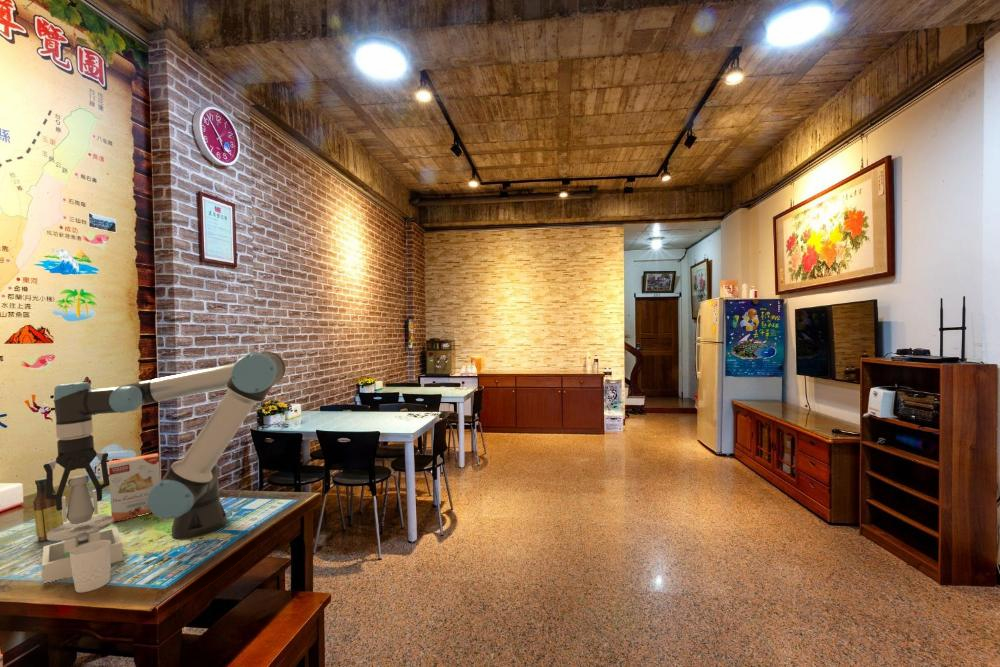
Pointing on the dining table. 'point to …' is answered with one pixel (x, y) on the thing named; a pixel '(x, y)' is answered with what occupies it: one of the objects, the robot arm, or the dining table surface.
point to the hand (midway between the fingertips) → (80, 516)
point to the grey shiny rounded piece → (80, 529)
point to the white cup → (91, 565)
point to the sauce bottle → (45, 511)
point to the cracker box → (132, 485)
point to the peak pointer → (82, 541)
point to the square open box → (59, 553)
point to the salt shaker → (79, 500)
